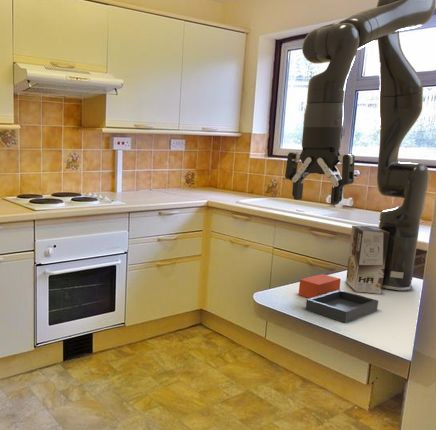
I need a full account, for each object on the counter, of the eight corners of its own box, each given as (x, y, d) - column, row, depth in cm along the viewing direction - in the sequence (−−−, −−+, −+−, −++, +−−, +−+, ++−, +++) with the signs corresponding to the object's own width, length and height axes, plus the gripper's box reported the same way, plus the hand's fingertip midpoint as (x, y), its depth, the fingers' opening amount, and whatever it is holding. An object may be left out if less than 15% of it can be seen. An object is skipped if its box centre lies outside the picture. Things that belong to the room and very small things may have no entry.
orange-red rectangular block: (320, 288, 119) (322, 273, 119) (339, 294, 115) (340, 278, 115) (298, 294, 114) (299, 279, 113) (317, 300, 110) (318, 284, 109)
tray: (338, 298, 111) (339, 289, 111) (377, 310, 104) (378, 300, 104) (305, 309, 103) (306, 299, 103) (345, 322, 96) (346, 312, 96)
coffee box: (382, 294, 116) (390, 232, 114) (355, 291, 117) (362, 230, 115) (370, 283, 125) (377, 226, 123) (344, 281, 126) (351, 224, 124)
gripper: (365, 126, 93) (357, 204, 96) (301, 126, 104) (295, 197, 107) (346, 124, 88) (338, 207, 91) (282, 125, 100) (276, 199, 103)
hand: (315, 201), depth 99 cm, fingers open, 8 cm apart
